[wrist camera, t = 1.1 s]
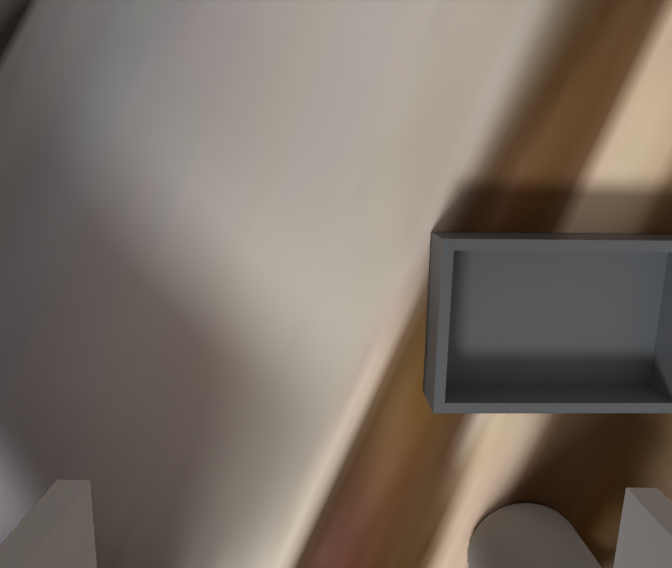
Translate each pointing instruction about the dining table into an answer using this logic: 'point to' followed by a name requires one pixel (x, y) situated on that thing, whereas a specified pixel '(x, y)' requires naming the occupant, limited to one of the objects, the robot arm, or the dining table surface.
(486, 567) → the cup
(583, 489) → the dining table surface
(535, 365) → the grey storage tray
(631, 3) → the dining table surface
